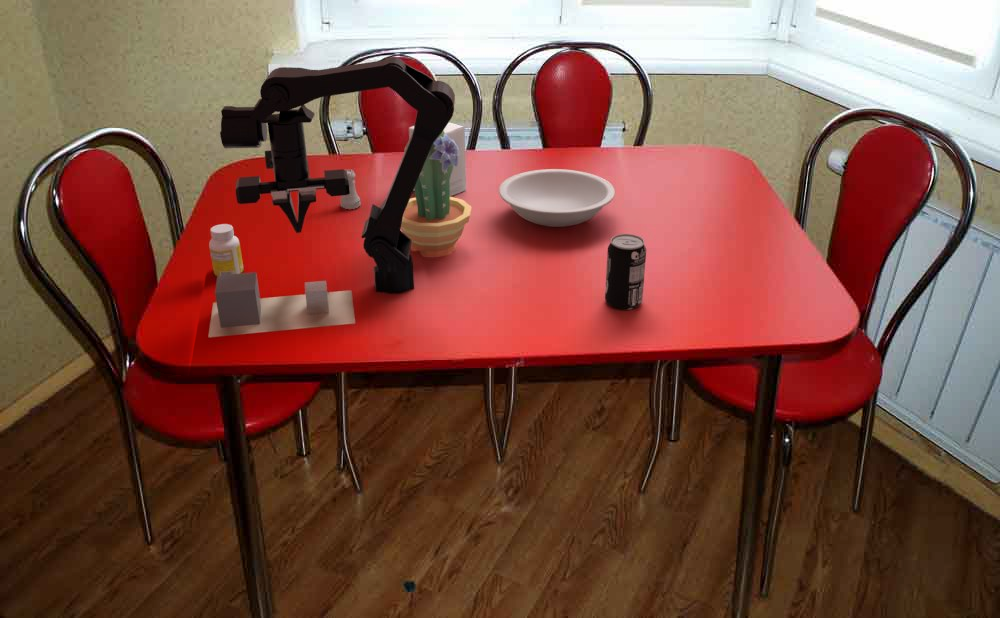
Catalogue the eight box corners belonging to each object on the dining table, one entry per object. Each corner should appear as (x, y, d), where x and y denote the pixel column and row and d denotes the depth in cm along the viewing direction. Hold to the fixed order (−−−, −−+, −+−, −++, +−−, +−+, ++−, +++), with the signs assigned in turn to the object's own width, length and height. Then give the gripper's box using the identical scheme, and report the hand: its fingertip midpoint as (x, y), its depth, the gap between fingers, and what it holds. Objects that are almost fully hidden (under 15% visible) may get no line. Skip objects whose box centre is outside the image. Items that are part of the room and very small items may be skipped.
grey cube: (328, 303, 168) (326, 280, 166) (329, 313, 165) (326, 290, 163) (307, 305, 167) (304, 282, 165) (307, 315, 164) (305, 292, 162)
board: (351, 295, 173) (351, 290, 172) (355, 328, 162) (355, 323, 162) (214, 307, 169) (213, 302, 168) (209, 342, 158) (208, 337, 158)
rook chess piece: (350, 200, 211) (347, 166, 207) (365, 205, 209) (362, 170, 205) (336, 207, 208) (332, 172, 204) (351, 212, 205) (348, 176, 201)
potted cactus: (399, 268, 182) (391, 141, 170) (390, 234, 195) (382, 115, 183) (479, 260, 185) (477, 135, 173) (465, 228, 198) (462, 109, 186)
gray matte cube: (261, 306, 167) (256, 272, 164) (259, 324, 162) (254, 289, 158) (223, 309, 166) (217, 275, 163) (220, 327, 161) (214, 292, 157)
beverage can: (603, 293, 173) (607, 232, 167) (640, 293, 173) (644, 232, 167) (606, 311, 167) (609, 248, 161) (643, 311, 167) (648, 249, 161)
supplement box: (467, 190, 216) (466, 126, 208) (438, 202, 210) (436, 136, 203) (440, 180, 221) (437, 117, 214) (411, 191, 216) (407, 126, 208)
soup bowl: (637, 224, 199) (639, 195, 196) (544, 253, 187) (544, 222, 184) (566, 188, 217) (567, 161, 213) (477, 213, 205) (476, 184, 202)
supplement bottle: (232, 267, 183) (225, 219, 178) (250, 275, 180) (243, 227, 175) (208, 277, 179) (200, 229, 174) (226, 285, 176) (218, 237, 171)
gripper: (341, 127, 169) (349, 209, 176) (232, 135, 166) (245, 218, 173) (345, 148, 159) (353, 234, 167) (229, 157, 156) (243, 244, 164)
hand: (298, 232), depth 168 cm, fingers closed
